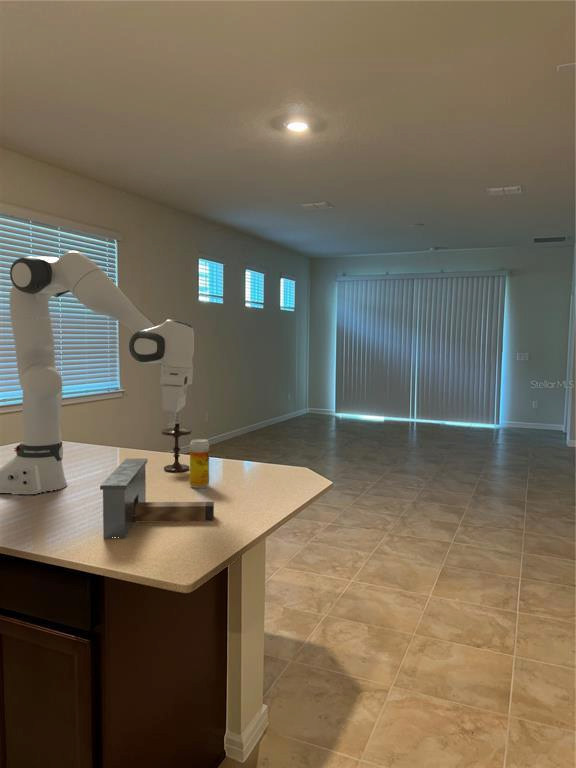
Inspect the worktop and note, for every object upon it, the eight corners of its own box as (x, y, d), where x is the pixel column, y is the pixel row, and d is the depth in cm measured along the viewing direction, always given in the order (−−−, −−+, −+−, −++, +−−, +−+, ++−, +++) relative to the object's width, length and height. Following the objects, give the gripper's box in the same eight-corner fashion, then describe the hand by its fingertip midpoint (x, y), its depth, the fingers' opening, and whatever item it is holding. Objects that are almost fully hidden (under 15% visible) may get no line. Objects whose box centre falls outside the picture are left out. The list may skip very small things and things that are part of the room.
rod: (135, 521, 142) (135, 506, 142) (138, 516, 146) (138, 502, 146) (212, 521, 144) (213, 506, 144) (213, 516, 148) (213, 501, 148)
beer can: (205, 489, 174) (205, 442, 172) (187, 488, 175) (187, 441, 174) (211, 484, 180) (211, 439, 178) (194, 483, 181) (194, 438, 180)
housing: (100, 539, 129) (100, 485, 128) (126, 502, 158) (126, 458, 157) (126, 539, 130) (126, 485, 129) (147, 502, 159) (147, 458, 158)
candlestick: (196, 470, 198) (196, 374, 195) (168, 474, 192) (167, 374, 189) (184, 464, 207) (184, 372, 204) (156, 468, 201) (156, 372, 198)
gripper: (171, 374, 166) (168, 420, 167) (159, 378, 146) (156, 429, 146) (191, 376, 166) (189, 421, 167) (183, 379, 146) (180, 431, 147)
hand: (173, 425), depth 157 cm, fingers open, 8 cm apart
